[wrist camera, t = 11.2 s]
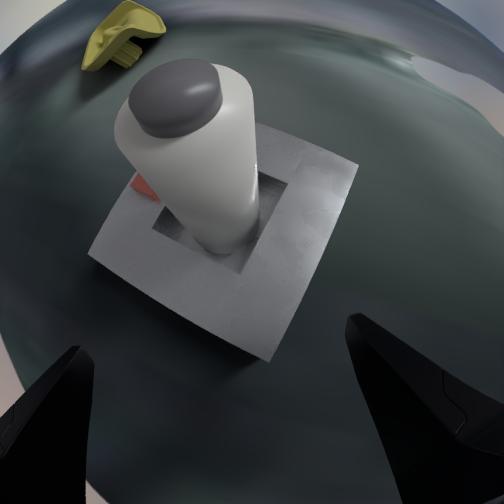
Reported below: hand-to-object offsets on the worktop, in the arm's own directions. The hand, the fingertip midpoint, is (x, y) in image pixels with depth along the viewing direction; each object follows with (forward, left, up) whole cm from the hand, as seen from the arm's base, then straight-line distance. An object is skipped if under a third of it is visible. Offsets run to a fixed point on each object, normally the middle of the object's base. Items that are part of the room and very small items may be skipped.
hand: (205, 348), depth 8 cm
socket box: (+4, -6, -11) cm, 13 cm away
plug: (+4, -6, -10) cm, 12 cm away
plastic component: (+33, -25, -11) cm, 42 cm away
